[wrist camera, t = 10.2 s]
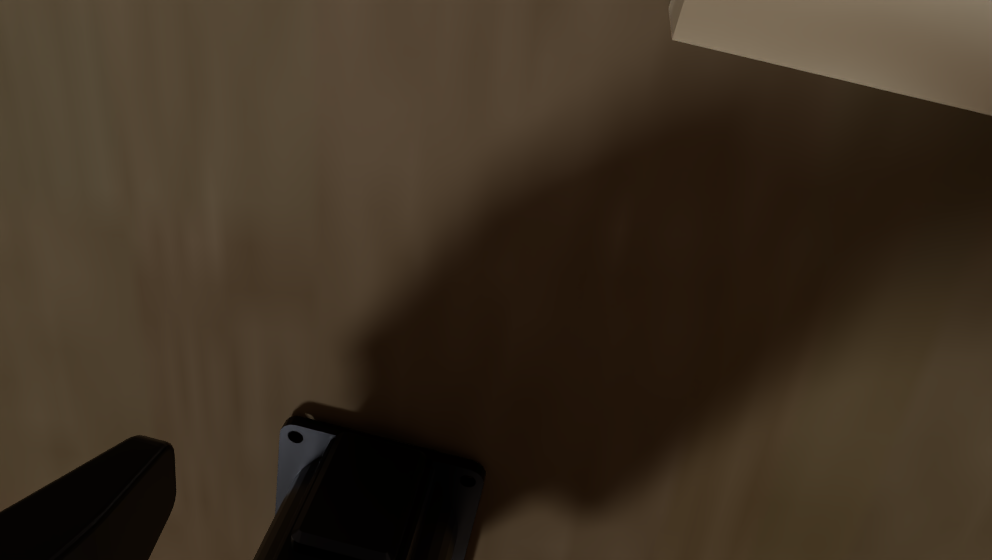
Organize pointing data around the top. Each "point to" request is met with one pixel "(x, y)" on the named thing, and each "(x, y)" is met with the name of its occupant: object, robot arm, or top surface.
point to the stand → (857, 41)
